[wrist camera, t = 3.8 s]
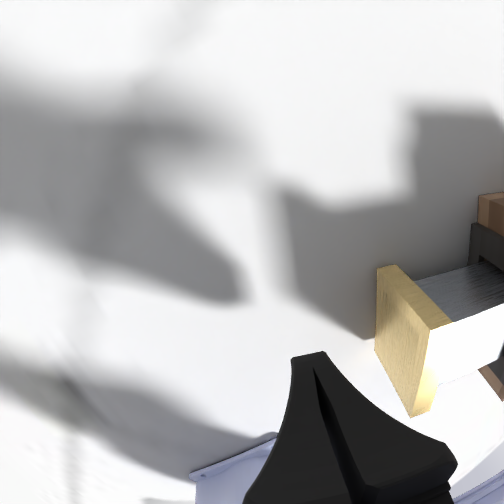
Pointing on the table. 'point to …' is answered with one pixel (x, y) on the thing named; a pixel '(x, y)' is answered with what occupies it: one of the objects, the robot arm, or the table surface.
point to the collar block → (498, 253)
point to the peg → (437, 328)
